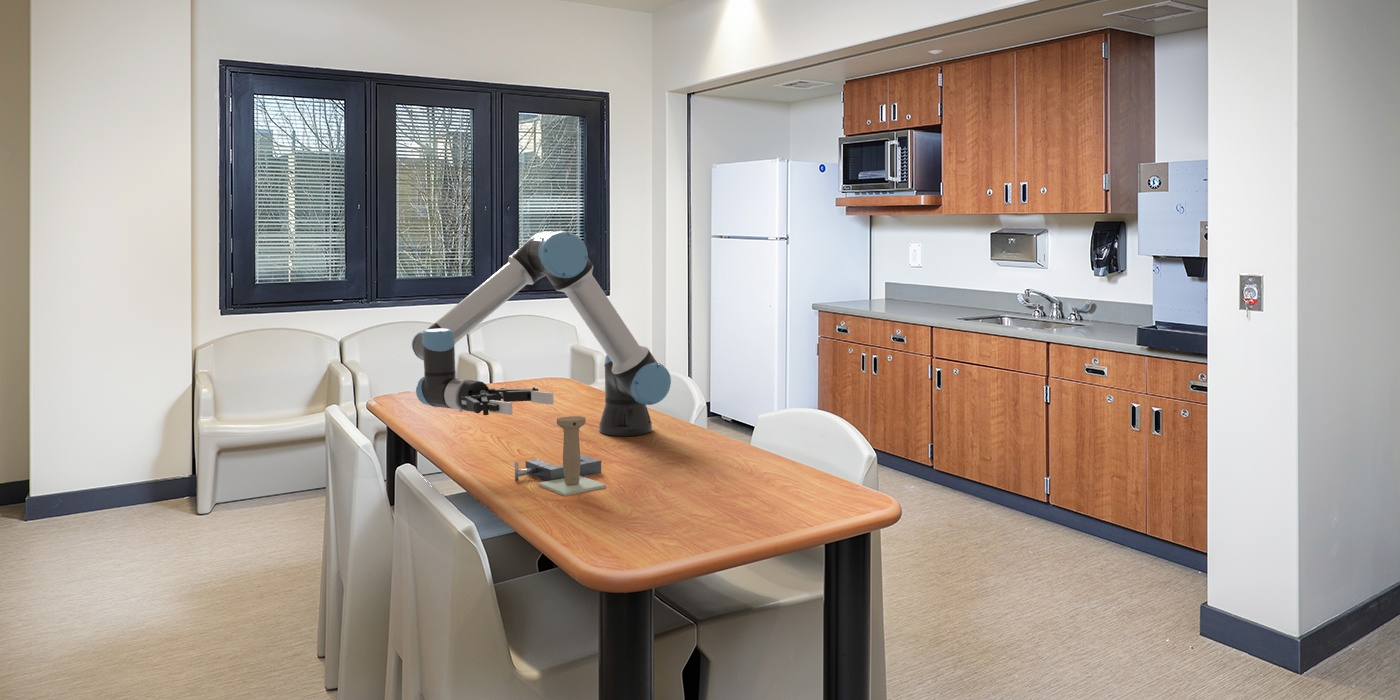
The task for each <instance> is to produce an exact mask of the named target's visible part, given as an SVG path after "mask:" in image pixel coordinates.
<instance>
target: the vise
mask: <svg viewBox="0 0 1400 700" xmlns="http://www.w3.org/2000/svg"><path fill="white" fill-rule="evenodd" d="M580 459H581V461H580V462H581V465H580V476H583V477H588V476H592V475H597V474H601V473H602V460H600V459H597V458H594V457H590V456H587V455H585V454H582V453H580ZM528 475H529V476H532V477H535V478H537V479H540V480H542V481H544V482H546V481H551V480H556V479H562V478H565V477H564V472H563V464H561V465H554V464H552V463H550V462H546V461H543V460H541V459H538V458H535V459H528V460H525V468H524V469H519V461H517V460H516V461H514V481H515V482H517V481H519V477H523V476H528Z"/></svg>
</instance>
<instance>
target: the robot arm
mask: <svg viewBox="0 0 1400 700" xmlns="http://www.w3.org/2000/svg"><path fill="white" fill-rule="evenodd" d="M588 255H589V254H588V249H587V246H586V244H585V243H584V241H583V240H582V239H581V237H579V236H578V235H576V234H574V233H572V232H571V231H567V230H558V229H557V230H542V231H539V232H537V233H535V234H534V235H533V236H532V237H530V238H529V239H528V240H527V241H525V242H524V243H523V244H522V245H521V246H520V247H519V248H517V249H516V250H515V251H514V252H513V253H512V254H511V255H509V256H508V260H507V261H508V262H507V263H506V264H504V265H503V266H502V267H501V268H499V270H497V271H496V272H495V273H494V274H491V276H490V277H489V278H488V279H487V280H485V281H484V282H483V283H482V284H480V285H479V286H478V287H476V288H475V289H474V290H473V291H472V292H470V293H469V294H468V295H466V297H464V299H462V300H461V301H459V303H457V304H456V305H455V306H454V307H452V308H451V309H450V310H449V311H447V312H446V313H445V314H443V316H441V317H440V318H439V319H437V320H436V322H434V323H433V324H431V325H430V326H429V327H428V328H427V329H426V330H422V331H419V332H418V333H416V334H415V335H414V336H413V338H412V341H411V348H412V351H413V353H414V355H415V356H416V357H417V358H418V359H420V360H421V361H423V367H424V369H423V370H424V374H423V377H421V378H420V379H419V380H418V382H417V385H416V387H415V394H416V397H417V400H418V401H419V402H420V403H422V404H423V405H426V406H431V407H433V408H443V409H444V408H445V409H453V410H458V411H459V413H463V411H466V412H471V413H475V414H481V412H482V415H483V416H489V414H490V413H494V414H500V415H501V414H502V415H508V416H511V415H512V416H513V403H514V402H515V403H516V402H531V403H535V404H543V405H554V403H555V401H554V392H548V391H540V390H539V388H536V386H532V388H507V387H506V388H505V387H501V388H498V389H496V388H489V386H488V385H487V384H486V383H485V382H483V381H481V380H480V381H479V380H470V379H465V378H457V377H456V376H457V373H456V357H455V356H456V353H455V344H457V343H458V342H459V341H460V340H461V339H463V338H464V337H465V336H466V335H468V334H469V333H470V332H471V331H472V330H474V329H475V328H476V327H477V326H479V325H480V324H481V323H482V322H483V321H484V320H485V319H487V318H488V317H489V316H490V315H492V314H493V313H494V312H495V311H496V310H498V309H499V308H500V307H501V306H503V304H505V303H506V302H507V301H508V300H510V299H511V298H512V297H513V296H515V295H516V294H517V293H518V292H520V290H522V289H523V288H524V287H526V285H534V284H535V283H536V282H538V281H539V280H540V279H542V278H544V277H546V278H547V279H548V281H549V282H550V284H551V285H552V286H553V288H554V289H555V290H556V291H557V292H561V293H565V295H566V297H567V298H568V300H569V301H570V303H571V304H572V306H573V307H574V308H575V310H576V312H577V313H578V315H579V316H580V317H581V318H582V320H583V321H584V323H585V325H586V326H587V327H588V329H589V330H590V332H591V333H592V335H593V336H594V338H595V339H596V341H597V342H598V344H599V345H600V347H601V348H602V349H603V350H604V352H605V354H606V356H605V360H604V365H603V366H604V385H605V386H604V393H605V394H604V397H605V399H604V400H605V401H604V402H605V403H604V404H605V405H604V408H603V411H602V414H601V418H600V421H599V425H598V426H599V432H600V433H601V434H603V435H608V436H618V437H630V436H631V437H632V436H641V435H646V434H650V433H651V432H653V424H652V423H653V422H652V420H651V417H650V413H649V410H648V407H647V406H650V405H651V406H652V405H655V404H658V403H660V402H662V401H663V400H664V399H665V398H666V397H667V396H668V394H669V392H670V388H671V385H672V376H671V374H670V372H669V370H668V369H667V368H666V367H665V366H664V365H663V364H661V363H660V362H658V361H657V360H656V358H655V357H654V355H653V354H652V352H651V351H650V349H649V348H648V347H647V346H643V345H639V342H638V341H637V340H636V339H635V336H633V334H632V332H631V331H630V329H629V328H628V326H627V325H626V323H625V322H624V320H623V319H622V317H621V316H620V315H619V313H618V311H617V310H616V308H615V307H614V305H613V304H612V302H611V301H610V299H609V298H608V297H607V294H606V293H605V291H604V290H603V288H602V287H601V286H600V284H599V283H598V281H597V280H596V278H595V277H594V275H593V272H594V271H593V270H594V265H593V263H592V261H591V260H590V259H589V256H588Z"/></svg>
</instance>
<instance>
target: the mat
mask: <svg viewBox="0 0 1400 700" xmlns="http://www.w3.org/2000/svg"><path fill="white" fill-rule="evenodd" d="M578 478H580V479H579V483H578V484H575V485H567V484H565V481H564V478H562V479H556V480H551V481H541V482H538V484H537V486H538V487H541V488H543V489H546V490H549V491H551V492H554V493H556V494H558V495H561V496H564V497H567V496H571V495H575V494H581V493H585V492H591V491H594V490H600V489H605V488H607V484H605V483H602V482H600V481H597V480H593V479H591V478H588V477H587V476H580V475H579V477H578Z"/></svg>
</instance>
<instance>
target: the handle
mask: <svg viewBox="0 0 1400 700" xmlns="http://www.w3.org/2000/svg"><path fill="white" fill-rule="evenodd" d="M586 419H587V418H586V417H585V416H573V415H572V416H561V417H557V418H556V425H557V426H558V427H560V428H561V429H563V446H562V448H563V449H562V465H563V472H564V477H565V478H564V481H565V484H567V485H575V484H578V483H579V479H580V478H578V477H579V475H580V465H581V462H580V461H581V459H580V454H581V449H580V448H581V447H580V428H581V427H583V426H584V425H586V423H587V422H586V421H587V420H586Z"/></svg>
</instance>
